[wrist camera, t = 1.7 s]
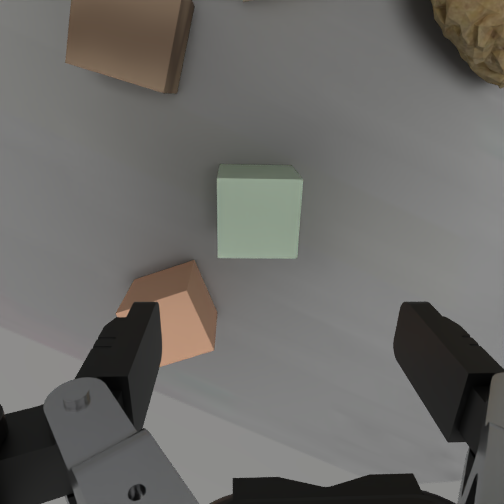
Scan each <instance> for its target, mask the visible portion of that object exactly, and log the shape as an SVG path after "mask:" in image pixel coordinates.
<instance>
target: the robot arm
mask: <svg viewBox="0 0 504 504" xmlns="http://www.w3.org/2000/svg"><path fill="white" fill-rule="evenodd" d="M393 349H394V354H395V358H396V360H397V362H398V363H399V365H400V367H401V368H402V370H403V371H404V373H405V375H406V376H407V378H408V379H409V381H410V383H411V384H412V386H413V387H414V389H415V391H416V392H417V394H418V395H419V397H420V399H421V400H422V402H423V403H424V405H425V407H426V408H427V410H428V411H429V413H430V415H431V416H432V418H433V419H434V421H435V423H436V424H437V426H438V427H439V429H440V431H441V432H442V434H443V435H444V437H445V439H446V440H447V442H466V443H467V444H468V446H469V449H468V452H467V455H466V459H465V465H464V470H463V476H462V481H461V487H460V492H459V498H458V503H457V504H504V369H503V368H502V367H501V366H500V365H499V364H498V363H497V362H496V361H495V360H494V359H493V358H492V357H491V356H490V355H489V354H488V353H487V352H486V351H485V350H484V349H483V348H482V347H481V346H479V345H478V343H477V342H476V341H475V340H474V339H473V338H470V335H469V334H468V333H467V332H466V331H465V330H464V329H463V328H462V327H461V326H460V325H458V324H457V323H455V322H453V321H452V320H450V319H448V318H446V317H443V316H442V315H441V314H440V313H439V312H438V311H437V310H436V309H435V308H434V307H433V306H432V305H431V304H430V303H429V302H403V303H402V305H401V307H400V311H399V316H398V321H397V326H396V332H395V337H394V342H393ZM161 357H162V334H161V321H160V309H159V304H158V302H134V303H133V304H132V306H131V308H130V310H129V312H128V314H127V316H126V317H116V318H115V319H113V320H112V321H111V322H110V323H108V324H107V325H106V326H104V328H103V330H102V332H101V333H100V335H99V337H98V340H96V342H95V344H94V346H93V349H91V351H90V353H89V354H88V356H87V358H86V360H85V362H84V363H83V365H82V367H81V369H80V370H79V372H78V374H77V376H76V377H75V379H74V380H71V381H68V382H66V383H64V384H62V385H60V386H58V387H57V388H56V389H54V390H53V391H52V392H51V393H50V394H49V395H48V397H47V398H46V400H45V402H44V404H43V405H40V406H37V407H33V408H30V409H25V410H21V411H17V412H13V413H9V414H5V415H4V411H3V408H2V406H1V405H0V504H41V503H44V502H47V501H50V500H53V499H56V498H60V497H63V496H65V498H66V501H67V504H199V503H198V501H197V500H196V498H195V497H194V496H193V494H192V492H191V491H190V490H189V488H188V487H187V485H186V484H185V483H184V481H183V480H182V478H181V477H180V475H179V474H178V472H177V471H176V470H175V468H174V467H173V466H172V464H171V462H170V461H169V460H168V458H167V457H166V455H165V454H164V452H163V451H162V449H161V448H160V447H159V445H158V444H157V442H156V441H155V439H154V438H153V436H152V435H151V434H150V433H149V431H148V430H146V429H144V428H143V424H144V421H145V417H146V413H147V410H148V406H149V403H150V399H151V395H152V392H153V388H154V384H155V381H156V377H157V374H158V370H159V366H160V363H161ZM142 428H143V429H142ZM210 504H455V503H453V502H451V501H450V500H448V499H445V498H443V497H441V496H438V495H435V494H432V493H429V492H426V491H422V490H421V489H420V487H419V485H418V483H417V481H416V479H415V477H414V475H413V474H375V475H367V476H364V477H360V478H357V479H354V480H351V481H347V482H344V483H341V484H338V485H334V486H331V487H321V486H316V485H312V484H307V483H303V482H298V481H294V480H289V479H284V478H280V477H261V478H233V494H231V495H228V496H225V497H222V498H220V499H218V500H215V501H214V502H212V503H210Z"/></svg>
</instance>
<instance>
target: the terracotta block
mask: <svg viewBox="0 0 504 504" xmlns="http://www.w3.org/2000/svg"><path fill="white" fill-rule="evenodd" d="M134 302H158V304H159V309H160V321H161V334H162V357H161V363H160V366H159V367H161V366H164V365H168V364H171V363H174V362H178V361H181V360H184V359H187V358H191V357H194V356H197V355H200V354H204V353H207V352H210V351H214V347H215V334H216V322H217V311H216V309H215V306H214V304H213V302H212V299H211V297H210V295H209V293H208V290H207V288H206V286H205V283H204V281H203V279H202V276H201V274H200V272H199V270H198V267H197V265H196V263H195V260H192V261H189V262H186V263H183V264H180V265H177V266H174V267H171V268H168V269H165V270H162V271H159V272H156V273H153V274H150V275H147V276H144V277H141V278H138V279H135V280H134V281H133V283H132V285H131V287H130V288H129V290H128V292H127V294H126V296H125V297H124V299H123V301H122V303H121V305H120V307H119V308H118V310H117V312H116V315H117V317H126V316H127V314H128V312H129V310H130V308H131V306H132V304H133V303H134Z"/></svg>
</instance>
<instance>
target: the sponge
mask: <svg viewBox="0 0 504 504" xmlns="http://www.w3.org/2000/svg"><path fill="white" fill-rule="evenodd" d="M430 1H431V3H432V5H433V12H434V19H435V21H436V22H437V23H438V24H439V26H440V28H441V29H442V32H443V35H444V37H445V38H447V39H449V40H450V41H451V42H452V43H453V44H454V45H455V46H456V47H457V49H458V51H459V54H460V56H461V58H462V59H463V60H465V61H466V62H467V63H468V65H469V67H470V68H471V70H473V71H474V72H475V73H476V74H477V75H478V76H479V77H480V78H482V79H483V80H485V81H486V82H488V83H492V84H495V85H498V86H499V88H503V87H504V0H430Z"/></svg>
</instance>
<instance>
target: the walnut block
mask: <svg viewBox="0 0 504 504" xmlns="http://www.w3.org/2000/svg"><path fill="white" fill-rule="evenodd" d="M193 11H194V4H193V2H192V0H71V9H70V19H69V29H68V40H67V50H66V60H65V63H68V64H71V65H74V66H78V67H81V68H84V69H87V70H90V71H94V72H97V73H100V74H103V75H107V76H110V77H113V78H116V79H120V80H123V81H126V82H129V83H132V84H136V85H139V86H142V87H145V88H149V89H152V90H155V91H158V92H162V93H174V94H177V91H178V86H179V81H180V76H181V71H182V66H183V61H184V56H185V51H186V46H187V41H188V36H189V31H190V26H191V21H192V16H193Z"/></svg>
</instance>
